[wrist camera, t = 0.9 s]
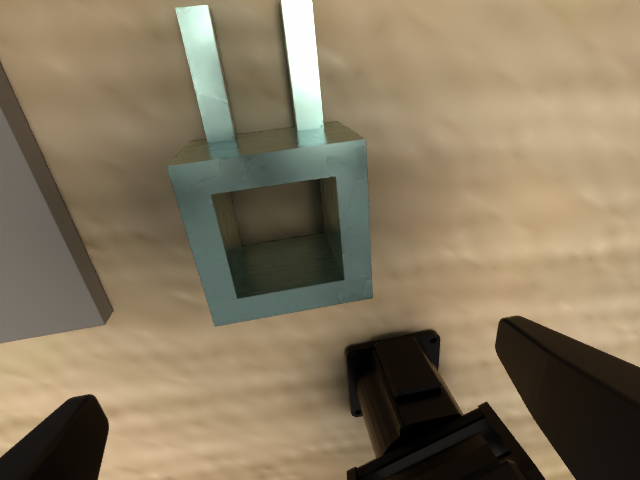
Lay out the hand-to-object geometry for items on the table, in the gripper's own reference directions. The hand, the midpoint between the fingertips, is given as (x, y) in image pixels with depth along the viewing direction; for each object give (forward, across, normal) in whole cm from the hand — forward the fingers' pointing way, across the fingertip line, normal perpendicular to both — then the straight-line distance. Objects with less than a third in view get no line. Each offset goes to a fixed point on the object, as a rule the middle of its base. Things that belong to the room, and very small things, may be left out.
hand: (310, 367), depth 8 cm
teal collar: (+12, 0, -3) cm, 12 cm away
